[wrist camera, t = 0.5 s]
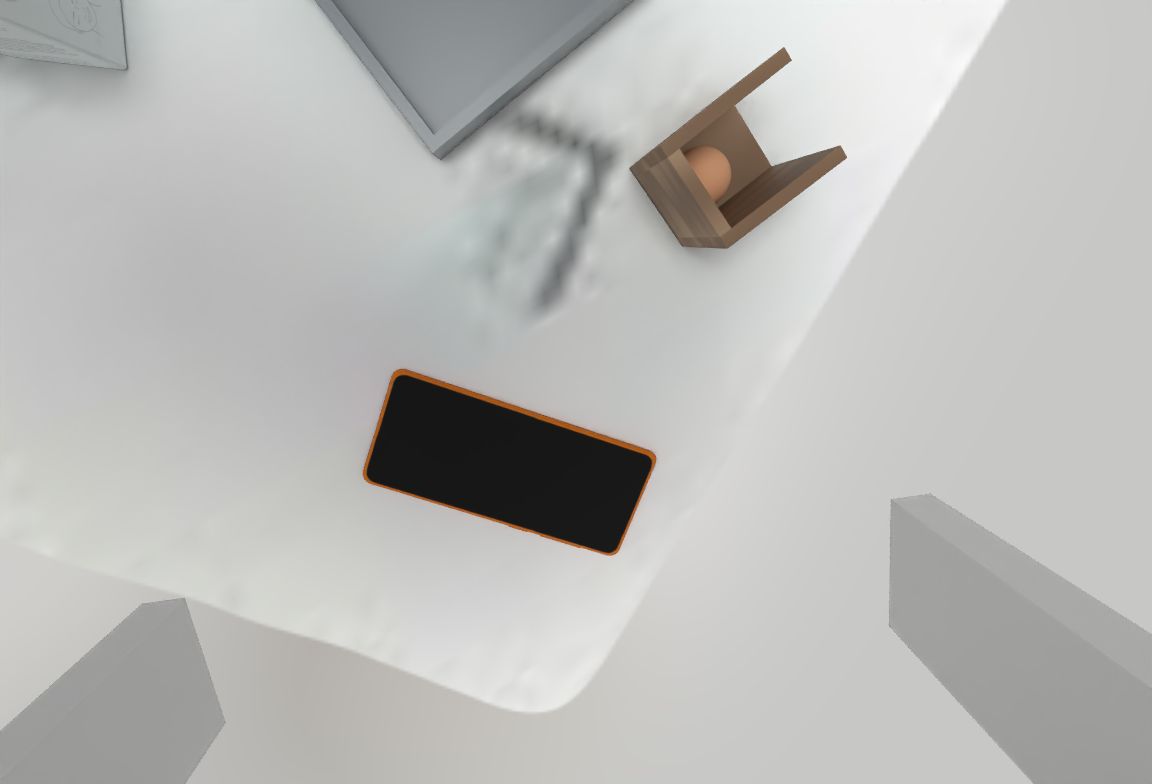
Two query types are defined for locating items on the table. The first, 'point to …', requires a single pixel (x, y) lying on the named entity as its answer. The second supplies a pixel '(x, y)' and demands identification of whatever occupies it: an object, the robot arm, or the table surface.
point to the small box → (64, 31)
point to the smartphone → (506, 463)
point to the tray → (462, 53)
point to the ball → (710, 169)
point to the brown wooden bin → (752, 176)
